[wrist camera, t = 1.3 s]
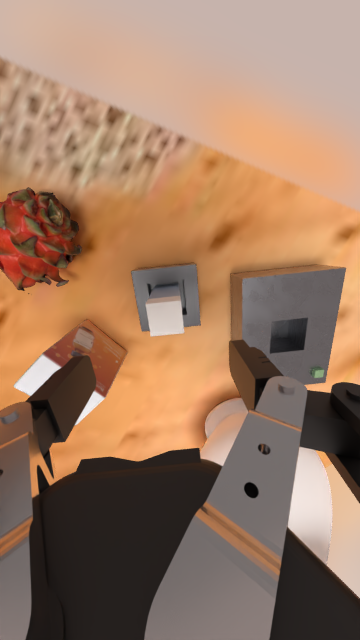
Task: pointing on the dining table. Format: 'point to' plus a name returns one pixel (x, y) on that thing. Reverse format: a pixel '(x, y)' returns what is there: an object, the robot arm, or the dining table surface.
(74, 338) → the small box
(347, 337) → the dining table surface
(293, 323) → the port
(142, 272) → the holster
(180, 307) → the plug
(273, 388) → the robot arm
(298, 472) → the decorative vase
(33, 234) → the dragon fruit
